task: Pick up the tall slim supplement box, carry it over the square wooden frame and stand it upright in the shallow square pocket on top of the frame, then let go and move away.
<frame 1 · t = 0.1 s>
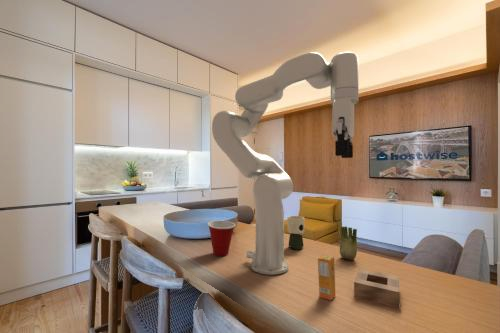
hand: (344, 156, 69), 37 cm above the table, tool pointing down, fingers open, 9 cm apart
square wooden frame: (377, 294, 63), on the table
plastic cup: (221, 254, 93), on the table
character mug: (295, 248, 101), on the table
fennel bulb: (347, 259, 89), on the table
supplement box: (326, 297, 62), on the table
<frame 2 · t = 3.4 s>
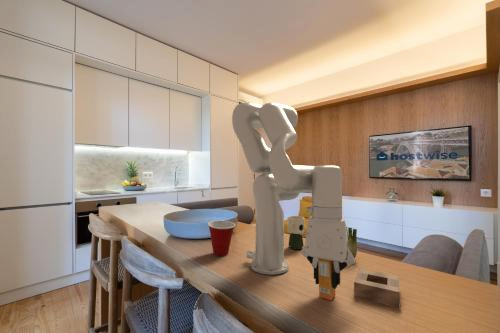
hand: (326, 283, 62), 3 cm above the table, tool pointing down, fingers closed on supplement box, 3 cm apart
supplement box: (326, 297, 62), on the table, touching gripper
everything else where it was.
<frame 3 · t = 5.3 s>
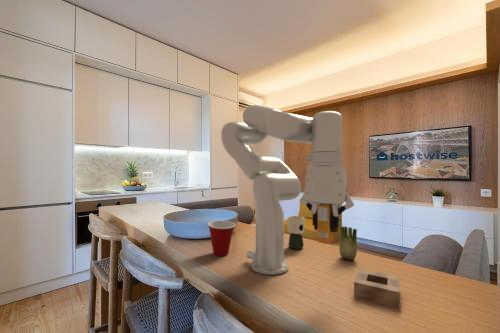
hand: (325, 229, 62), 17 cm above the table, tool pointing down, fingers closed on supplement box, 3 cm apart
supplement box: (324, 242, 62), point 14 cm above the table, touching gripper
everything else where it was.
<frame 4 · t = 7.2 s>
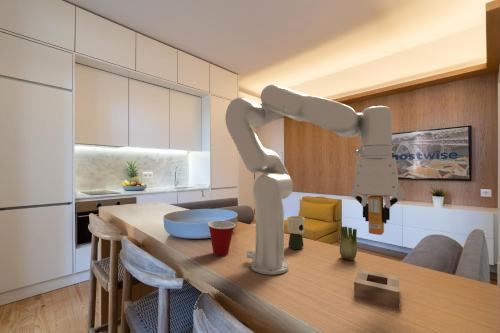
hand: (376, 220, 64), 19 cm above the table, tool pointing down, fingers closed on supplement box, 3 cm apart
supplement box: (375, 233, 64), point 16 cm above the table, touching gripper
everything else where it was.
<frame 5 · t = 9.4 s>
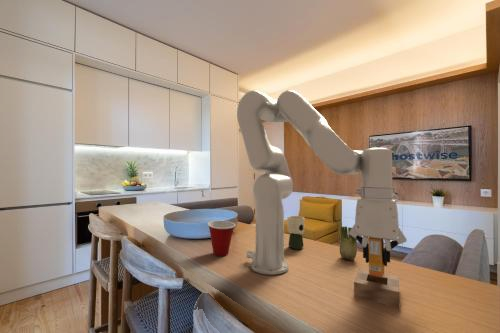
hand: (376, 262, 64), 8 cm above the table, tool pointing down, fingers closed on supplement box, 3 cm apart
supplement box: (376, 275, 64), point 5 cm above the table, touching gripper
everything else where it was.
when the fingers open (5 cm above the table, at t = 11.3 s): supplement box stays where it is, resting on square wooden frame.
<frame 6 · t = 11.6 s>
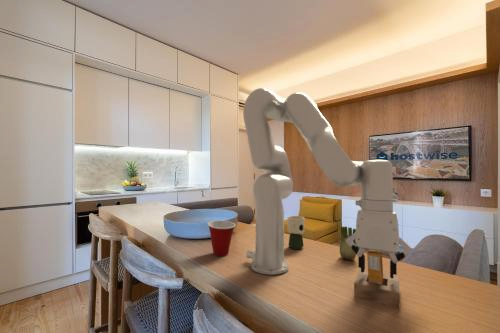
hand: (377, 272, 64), 5 cm above the table, tool pointing down, fingers open, 6 cm apart
square wooden frame: (377, 295, 63), on the table, touching supplement box
supplement box: (375, 290, 64), point 1 cm above the table, touching square wooden frame
everything else where it was.
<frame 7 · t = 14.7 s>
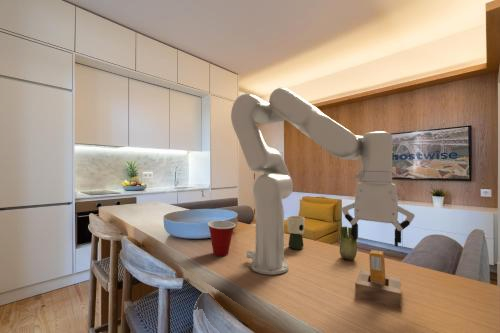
hand: (375, 241, 64), 13 cm above the table, tool pointing down, fingers open, 9 cm apart
nothing on the table moved.
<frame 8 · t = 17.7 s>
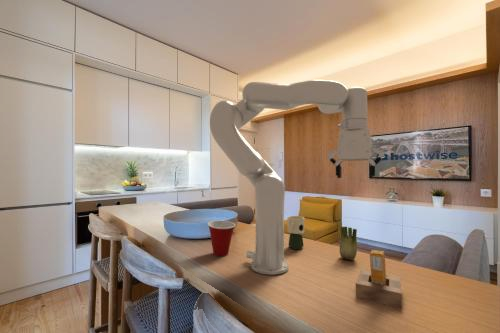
hand: (354, 178, 78), 30 cm above the table, tool pointing down, fingers open, 9 cm apart
nothing on the table moved.
at the end: supplement box 0.1 cm off-centre on the square wooden frame, point 1.3 cm above the square wooden frame's base; supplement box tilted 1°; the gripper is holding nothing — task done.
